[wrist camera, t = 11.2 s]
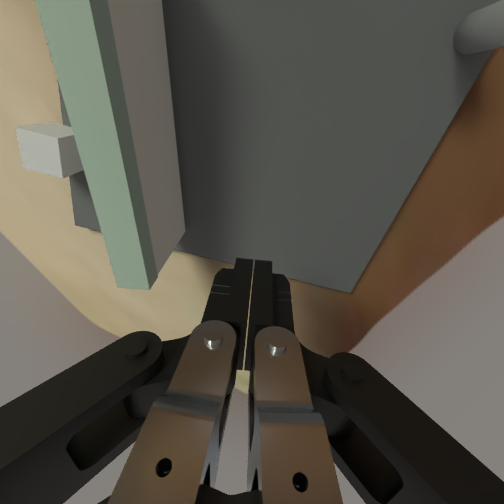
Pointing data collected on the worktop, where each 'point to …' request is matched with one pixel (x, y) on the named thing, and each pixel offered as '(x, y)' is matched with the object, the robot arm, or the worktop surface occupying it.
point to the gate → (121, 125)
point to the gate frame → (299, 123)
